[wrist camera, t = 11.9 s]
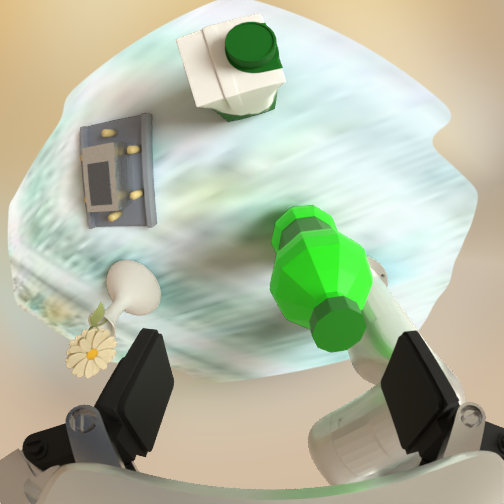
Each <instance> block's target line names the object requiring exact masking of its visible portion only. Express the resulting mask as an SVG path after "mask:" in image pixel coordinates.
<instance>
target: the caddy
mask: <svg viewBox="0 0 504 504" xmlns="http://www.w3.org/2000/svg"><path fill="white" fill-rule="evenodd" d="M112 142H131V146H129V147H128V148H127V153H128V154H131V156H132V175H133V189H134V192H131V193H130V198H131V199H132V200H134V201H135V203H133V204H131V205H129V206H127V207H125V208H123V209H121V210H119V211H103V212H88V211H87V204H86V195H85V186H84V174H83V159H82V148H86V147H91V146H96V145H101V144H107V143H112ZM80 145H81V165H82V178H83V188H84V197H85V198H84V201H85V206H86V213H87V220H88V226H89V229H92V228H94V227H98V226H142V225H147V226H148V228H150V227H153V226H155V225H156V224H157V217H156V206H155V193H154V178H153V159H152V114H147V113H144V114H141V115H139V116H134V117H128V118H123V119H118V120H113V121H109V122H104V123H100V124H96V125H92V126H88V127H87V126H83V127H80Z"/></svg>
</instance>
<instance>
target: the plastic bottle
mask: <svg viewBox="0 0 504 504" xmlns="http://www.w3.org/2000/svg"><path fill="white" fill-rule="evenodd" d="M272 246H273V248H274V250H275V252H276V254H277V255H276V259H275V263H274V268H273V272H272V277H271V282H270V292H271V294H272V295H273V297H274V299H275V301H276V303H277V305H278V306H279V308H280V310H281V312H282V314H283V315H284V317H285V318H286V319H287V320H289V321H291V322H294V323H296V324H298V325H301V326H303V327H305V328H308V329H310V330H311V333H312V337H313V339H314V341H315V343H316V345H317V347H318V348H320V349H323V350H326V351H328V352H338V351H344V350H348V349H349V348H351V347H352V346H353V345H355V344H356V343H358V342H359V341H360V340H361V338H362V336H363V334H364V332H365V330H366V328H367V326H366V323H365V320H364V317H363V314H362V312H361V310H362V309H363V307H364V304H365V302H366V299H367V297H368V294H369V292H370V289H371V287H372V284H373V276H372V273H371V269H370V266H369V263H368V260H367V256H366V253H365V250H364V249H363V248H362V246H361V245H360V244H358V243H356V242H355V241H353V240H351V239H350V238H348V237H346V236H345V235H343V234H341V233H340V232H338V231H337V228H336V226H335V223H334V221H333V218H332V217H331V215H329V214H327V213H326V212H324V211H322V210H321V209H319V208H317V207H315V206H314V205H307V206H298V207H291V208H290V209H289V210H288V211H287V212H286V213H284V214H283V215H282V216H281V217H280V218H279V219H278V220H277V221H276V222H275V227H274V232H273V237H272Z"/></svg>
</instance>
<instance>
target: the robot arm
mask: <svg viewBox="0 0 504 504" xmlns="http://www.w3.org/2000/svg"><path fill="white" fill-rule="evenodd" d="M367 260H368V263H369V266H370V269H371V273H372V276H373V284H372V287H371V289H370V292H369V294H368V297H367V299H366V302H365V304H364V307H363V309H362V310H361V312H362V314H363V317H364V320H365V323H366V326H367V328H366V330H365V332H364V334H363V336H362V338H361V340H360V341H359V342H358V343H356V344H355V345H353V346H352V347H351V348H349V349H348V353H349V356H350V359H351V362H352V365H353V366H354V368H355V370H356V372H357V373H358V374H359V375H360V376H361V377H362V378H363V379H365V380H367V381H368V382H370V383H373V384H375V385H376V386H374V387H373V388H371V389H370V390H368V391H367V392H366V393H365V394H363V395H362V396H360V397H358V398H356V399H355V400H353V401H351V402H350V403H348V404H346V405H344V406H342V407H341V408H339V409H337V410H335V411H333V412H331V413H329V414H328V415H326V416H324V417H323V418H321V419H320V420H319V421H317V422H316V423H315V424H314V426H313V427H312V429H311V430H310V433H309V437H308V447H309V451H310V454H311V457H312V459H313V461H314V463H315V465H316V466H317V468H318V470H319V471H320V472H321V474H322V475H323V476H324V478H325V479H326V480H327V481H328V483H329V484H330V485H331V486H326V487H316V488H303V489H285V490H284V489H283V490H282V489H281V490H262V489H238V488H224V487H216V486H207V485H200V484H194V483H188V482H181V481H176V480H171V479H166V478H161V477H157V476H153V475H148V474H144V473H140V472H139V471H138V469H137V468H136V465H135V464H134V460H135V457H136V455H139V456H143V457H146V455H147V452H151V451H152V449H153V446H154V443H155V440H156V437H157V434H158V431H159V428H160V425H161V422H162V419H163V416H164V413H165V410H166V406H167V404H168V401H169V398H170V395H171V392H172V389H173V386H174V378H173V375H172V371H171V368H170V364H169V360H168V356H167V353H166V349H165V345H164V340H163V336H162V334H159V333H158V331H157V330H154V329H146V328H143V329H142V330H141V331H140V333H139V334H138V336H137V338H136V339H135V341H134V343H133V344H132V346H131V348H130V349H129V351H128V353H127V354H126V356H125V357H124V358H122V359H121V360H120V362H119V363H118V365H117V367H116V368H115V370H114V372H113V374H112V375H111V377H110V379H109V380H108V382H107V384H106V386H105V388H104V389H103V391H102V393H101V395H100V396H99V399H98V400H97V402H96V404H95V406H94V407H92V406H90V405H79V406H77V407H74V408H73V409H72V410H71V411H70V412H69V413H68V415H67V417H66V423H65V424H62V425H59V426H56V427H53V428H50V429H46V430H43V431H40V432H37V433H34V434H31V435H29V436H28V437H27V438H26V439H25V441H24V443H23V449H22V450H19V449H17V450H15V451H13V452H12V453H10V454H9V455H7V456H6V457H5V458H3V459H1V460H0V502H1V504H504V428H502V427H499V426H497V425H494V424H491V423H489V422H486V421H485V419H486V416H485V413H484V411H483V409H482V408H481V407H480V406H479V405H478V404H476V403H473V402H466V403H465V393H464V389H463V387H462V385H461V383H460V381H459V380H458V378H457V377H456V375H455V374H454V373H453V372H452V371H451V370H450V368H448V366H447V365H446V364H445V363H444V362H443V361H442V360H441V359H440V358H439V357H438V356H437V355H436V354H435V352H434V351H433V350H432V349H431V348H430V347H429V345H428V344H427V343H426V341H425V340H424V338H423V337H422V336H421V334H420V333H419V332H418V330H417V329H416V327H415V326H414V324H413V323H412V321H411V320H410V319H409V317H408V316H407V314H406V313H405V312H404V310H403V309H402V307H401V306H400V304H399V303H398V302H397V300H396V299H395V298H394V296H393V295H392V293H391V292H390V291H389V289H388V288H387V285H388V279H387V274H386V272H385V270H384V268H383V266H382V265H381V264H380V263H379V262H378V261H377V260H376V259H374V258H372V257H370V256H367Z"/></svg>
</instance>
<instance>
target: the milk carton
mask: <svg viewBox="0 0 504 504" xmlns="http://www.w3.org/2000/svg"><path fill="white" fill-rule="evenodd" d="M176 42H177V45H178V48H179V51H180V55H181V58H182V61H183V65H184V68H185V71H186V74H187V78H188V81H189V84H190V88H191V91H192V94H193V97H194V100H195V104H196V107H201V108H212V109H214V110H215V111H216V112H217V113H218V114H220V115H221V116H222V117H223V118H224V119H226V120H227V121H228V122H230V121H234V120H240V119H244V118H248V117H251V116H255V115H258V114H261V113H265V112H267V111H270V110H273V109H275V104H276V97H277V91H278V88H279V87H280V86H281V85H283V84H284V83H285V82H286V80H285V77H284V74H283V71H282V69H281V68H283V67H282V64H281V62H280V59H279V51H278V47H277V44H276V42H277V41H276V37H275V34H274V32H273V31H272V30H271V29H270V28H269V27H268V26H266V24H265V23H264V21H263V19H262V17H261V15H260V14H254V15H250V16H245V17H241V18H237V19H233V20H229V21H226V22H222V23H219V24H214V25H210V26H207V27H204V28H202V30H200V31H197V32H194V33H191V34H189V35H186V36H183V37H181V38H178V39H176Z"/></svg>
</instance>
